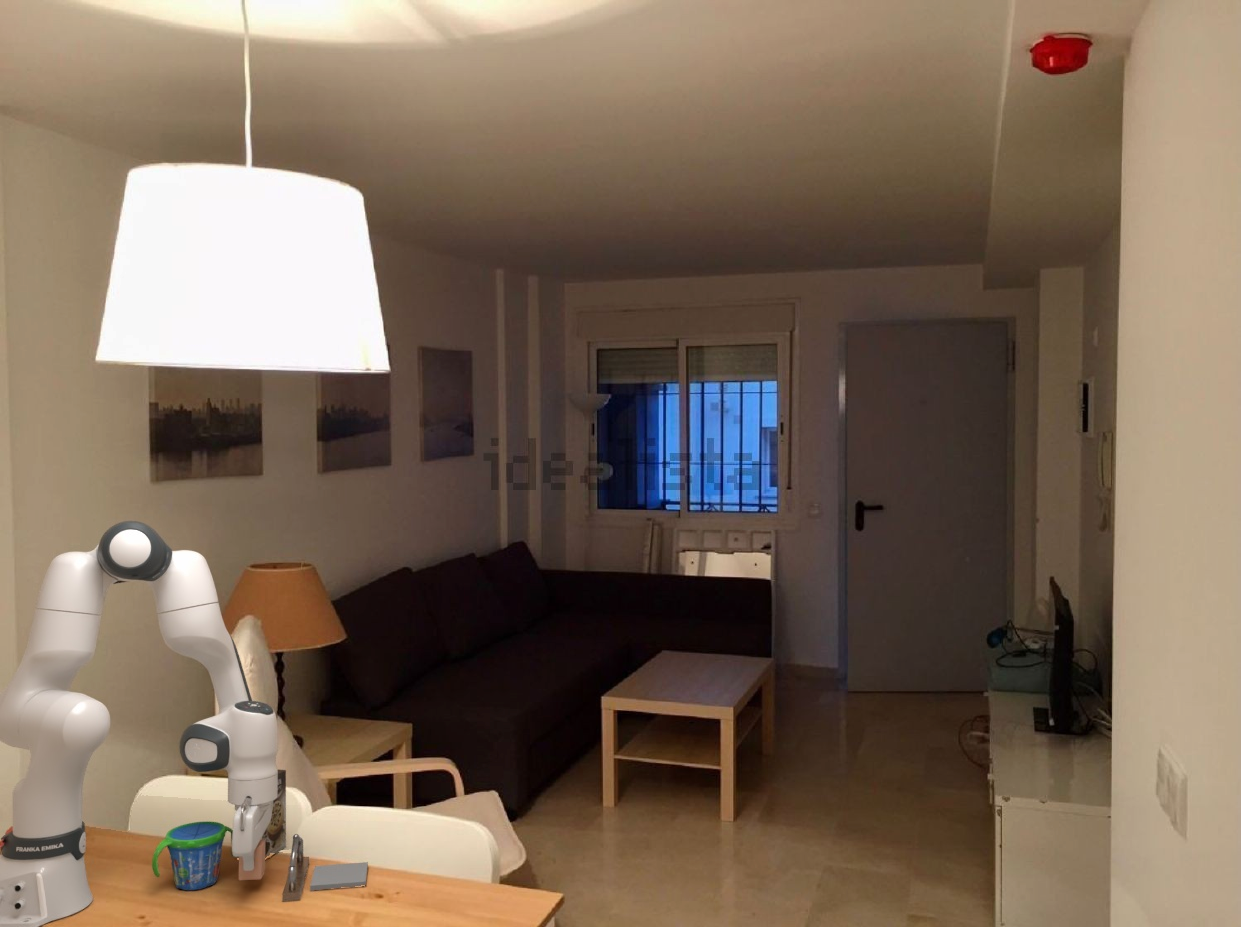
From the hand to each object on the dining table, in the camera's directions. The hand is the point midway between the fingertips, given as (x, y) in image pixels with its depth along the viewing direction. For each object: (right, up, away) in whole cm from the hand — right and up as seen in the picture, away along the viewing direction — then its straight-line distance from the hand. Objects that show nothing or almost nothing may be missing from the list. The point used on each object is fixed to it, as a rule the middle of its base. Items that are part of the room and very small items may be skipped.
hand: (251, 864), depth 200 cm
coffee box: (-4, -5, +18) cm, 19 cm away
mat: (+15, -4, +4) cm, 16 cm away
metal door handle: (+8, -4, +3) cm, 9 cm away
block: (0, -2, 0) cm, 2 cm away
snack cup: (-11, -5, +2) cm, 12 cm away
